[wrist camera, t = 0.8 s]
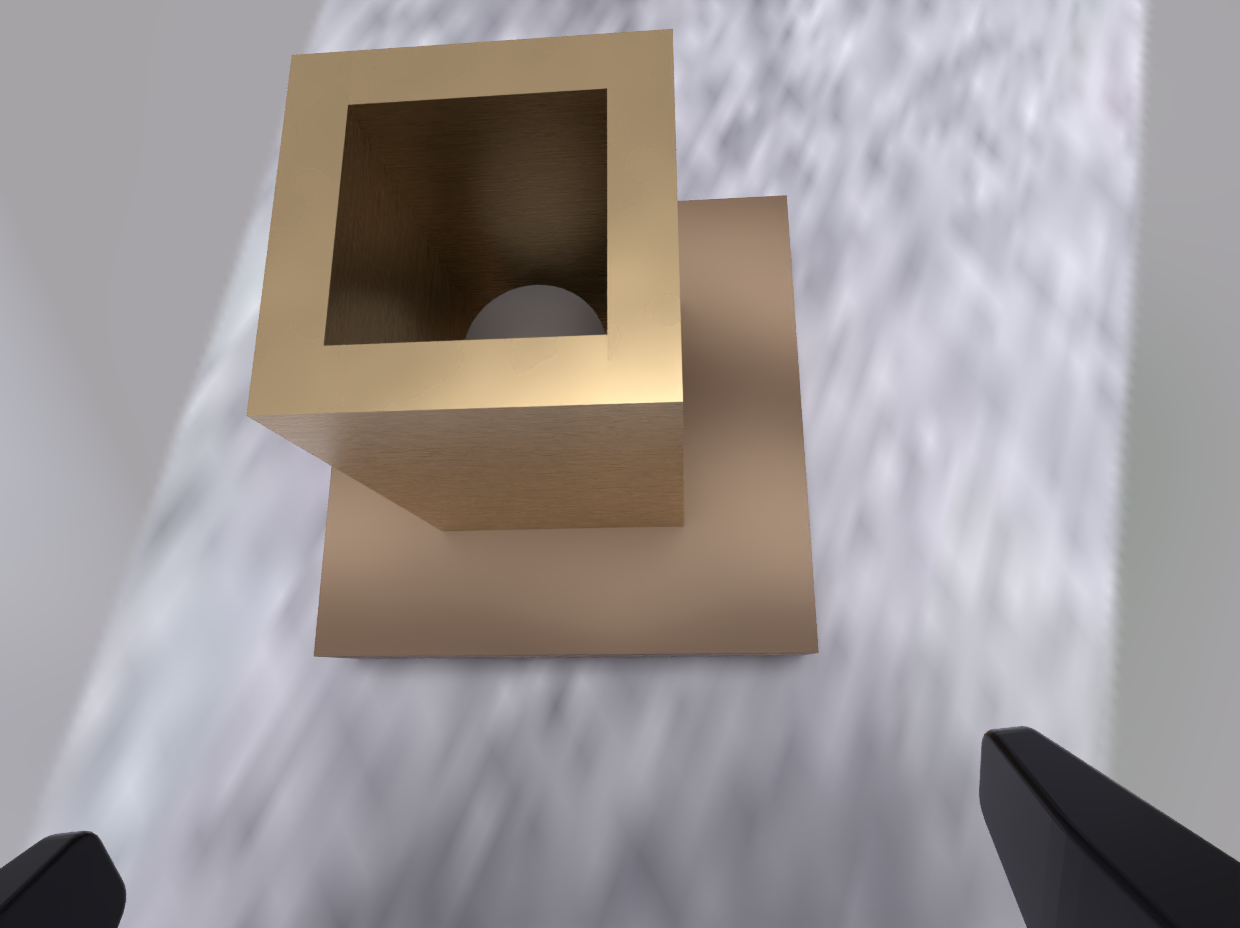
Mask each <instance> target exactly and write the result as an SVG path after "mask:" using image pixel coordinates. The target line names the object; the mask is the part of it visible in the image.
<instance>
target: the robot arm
mask: <svg viewBox="0 0 1240 928" xmlns="http://www.w3.org/2000/svg"><path fill="white" fill-rule="evenodd" d="M979 798H980V805H981V809H982V813H983V816H984V819H985V822H986V825H987V827H988V830H989V832H990V835H991V837H992V840H993V842H994V845H995V848H996V850H997V853H998V855H999V858H1000V860H1001V863H1002V865H1003V868H1004V870H1005V873H1006V876H1007V878H1008V881H1009V883H1010V886H1011V888H1012V891H1013V893H1014V896H1015V899H1016V901H1017V904H1018V906H1019V909H1020V911H1021V914H1022V916H1023V919H1024V921H1025V924H1026V927H1027V928H1240V862H1238V861H1236V860H1235V859H1234V858H1232V857H1231V856H1229V855H1228V854H1226V853H1224V852H1223V851H1221V850H1220V849H1218V848H1217V847H1215V846H1214V845H1212V844H1211V843H1209V842H1208V841H1206V840H1204V839H1203V838H1201V837H1200V836H1198V835H1197V834H1195V833H1193V832H1192V831H1191V830H1189V829H1187V828H1186V827H1184V826H1183V825H1181V824H1180V823H1178V822H1177V821H1175V820H1174V819H1172V818H1170V817H1169V816H1167V815H1166V814H1164V813H1163V812H1161V811H1160V810H1158V809H1156V808H1155V807H1154V806H1152V805H1150V804H1149V803H1147V802H1146V801H1144V800H1143V799H1141V798H1140V797H1138V796H1137V795H1135V794H1133V793H1132V792H1130V791H1129V790H1127V789H1126V788H1124V787H1123V786H1121V785H1120V784H1118V783H1117V782H1115V781H1113V780H1112V779H1110V778H1109V777H1107V776H1106V775H1104V774H1103V773H1101V772H1100V771H1098V770H1096V769H1095V768H1093V767H1092V766H1090V765H1089V764H1087V763H1086V762H1084V761H1083V760H1081V759H1079V758H1078V757H1076V756H1075V755H1073V754H1072V753H1070V752H1069V751H1067V750H1066V749H1064V748H1063V747H1061V746H1059V745H1058V744H1056V743H1055V742H1053V741H1052V740H1050V739H1049V738H1047V737H1046V736H1044V735H1042V734H1041V733H1039V732H1038V731H1036V730H1034V729H1032V728H1029V727H1025V726H1019V727H1010V728H1001V729H992V730H989V731H987V732H986V733H985V734H984V736H983V739H982V747H981V766H980V785H979ZM125 903H126V889H125V884H124V882H123V880H122V878H121V876H120V874H119V873H118V871H117V869H116V867H115V865H114V863H113V861H112V860H111V858H110V856H109V854H108V852H107V850H106V849H105V847H104V845H103V843H102V841H101V840H100V838H99V837H98V836H97V835H96V834H94V833H92V832H90V831H78V832H69V833H60V834H54V835H51V836H48V837H46V838H44V839H42V840H40V841H39V842H37V843H36V844H35V845H33V846H32V847H30V848H29V849H27V850H26V851H25V852H23V853H22V854H20V855H19V856H17V857H16V858H15V859H13V860H12V861H10V862H9V863H8V864H6V865H5V866H3V867H2V868H0V928H118V926H119V923H120V920H121V918H122V915H123V912H124V909H125Z"/></svg>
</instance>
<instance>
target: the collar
mask: <svg viewBox="0 0 1240 928" xmlns="http://www.w3.org/2000/svg"><path fill="white" fill-rule="evenodd" d="M530 285H548V286H555V287H559V288H562V289H565V290H567V291H570V292H572V293H574V294H575V295H577V296H579V297H580V298H581V299H583V300H584V301H585V302H586V303H587V304H588V305H589V306H590V307H591V308H592V309H593V310H594V312H595V313H596V314H597V316H598V318H599V320H600V322H601V324H602V327H603V329H604V333H605V335H587V336H561V337H535V338H510V339H484V340H465V339H466V335H467V333H468V330H469V328H470V326H471V324H472V323H473V321H474V319H475V318H476V316H477V315H478V314H479V312H480V311H481V310H482V309H483V308H484V307H485V306H486V305H487V304H489V303H490V302H491V301H492V300H494V299H495V298H497V297H498V296H500V295H502V294H504V293H506V292H508V291H510V290H513V289H516V288H519V287H524V286H530ZM247 416H248V417H250V418H251V419H253V420H255V421H257V422H258V423H260V424H262V425H263V426H265V427H267V428H268V429H270V430H272V431H273V432H275V433H277V434H279V435H280V436H282V437H284V438H285V439H287V440H289V441H290V442H292V443H294V444H295V445H297V446H299V447H301V448H302V449H304V450H306V451H307V452H309V453H311V454H312V455H314V456H316V457H317V458H319V459H321V460H322V461H324V462H326V463H328V464H329V465H331V466H333V467H334V468H336V469H338V470H339V471H341V472H343V473H344V474H346V475H348V476H350V477H351V478H353V479H355V480H356V481H358V482H360V483H361V484H363V485H365V486H366V487H368V488H370V489H372V490H373V491H375V492H377V493H378V494H380V495H382V496H383V497H385V498H387V499H388V500H390V501H392V502H393V503H395V504H397V505H399V506H400V507H402V508H404V509H405V510H407V511H409V512H410V513H412V514H414V515H415V516H417V517H419V518H421V519H422V520H424V521H426V522H427V523H429V524H431V525H432V526H434V527H436V528H437V529H439V530H441V531H480V530H530V529H580V528H630V527H680V526H684V460H683V384H682V348H681V313H680V277H679V241H678V205H677V170H676V134H675V98H674V62H673V29H666V30H651V31H636V32H622V33H607V34H593V35H578V36H563V37H549V38H534V39H520V40H505V41H490V42H476V43H461V44H447V45H432V46H417V47H403V48H388V49H374V50H359V51H344V52H330V53H315V54H301V55H292V59H291V67H290V75H289V83H288V91H287V99H286V107H285V115H284V123H283V131H282V138H281V146H280V154H279V162H278V170H277V178H276V186H275V194H274V202H273V210H272V218H271V226H270V234H269V242H268V250H267V258H266V266H265V274H264V281H263V289H262V297H261V305H260V313H259V321H258V329H257V337H256V345H255V353H254V361H253V369H252V377H251V385H250V393H249V401H248V409H247Z"/></svg>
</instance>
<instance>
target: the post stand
mask: <svg viewBox="0 0 1240 928" xmlns="http://www.w3.org/2000/svg"><path fill="white" fill-rule="evenodd" d="M677 205H678V241H679V277H680V313H681V348H682V384H683V460H684V526H680V527H630V528H580V529H530V530H480V531H441V530H439V529H437V528H436V527H434V526H432V525H431V524H429V523H427V522H426V521H424V520H422V519H421V518H419V517H417V516H415V515H414V514H412V513H410V512H409V511H407V510H405V509H404V508H402V507H400V506H399V505H397V504H395V503H393V502H392V501H390V500H388V499H387V498H385V497H383V496H382V495H380V494H378V493H377V492H375V491H373V490H372V489H370V488H368V487H366V486H365V485H363V484H361V483H360V482H358V481H356V480H355V479H353V478H351V477H350V476H348V475H346V474H344V473H343V472H341V471H339V470H338V469H336V468H334V467H333V466H332V468H331V479H330V490H329V500H328V511H327V521H326V532H325V543H324V553H323V564H322V574H321V585H320V596H319V606H318V617H317V627H316V638H315V649H314V656H317V657H337V658H487V657H622V656H757V655H807V654H812V653H818V639H817V624H816V610H815V596H814V581H813V567H812V553H811V538H810V524H809V510H808V495H807V481H806V466H805V452H804V438H803V423H802V409H801V395H800V380H799V366H798V352H797V337H796V323H795V309H794V294H793V280H792V266H791V251H790V237H789V223H788V208H787V195H786V196H767V197H747V198H728V199H709V200H689V201H677ZM587 335H605V333H604V329H603V327H602V324H601V322H600V320H599V318H598V316H597V314H596V313H595V312H594V310H593V309H592V308H591V307H590V306H589V305H588V304H587V303H586V302H585V301H584V300H583V299H581V298H580V297H579V296H577V295H575V294H574V293H572V292H570V291H567V290H565V289H562V288H559V287H555V286H548V285H530V286H524V287H519V288H516V289H513V290H510V291H508V292H506V293H504V294H502V295H500V296H498V297H497V298H495V299H494V300H492V301H491V302H490V303H489V304H487V305H486V306H485V307H484V308H483V309H482V310H481V311H480V312H479V314H478V315H477V316H476V318H475V319H474V321H473V323H472V324H471V326H470V328H469V330H468V333H467V335H466V339H465V340H484V339H510V338H535V337H561V336H587Z"/></svg>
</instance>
